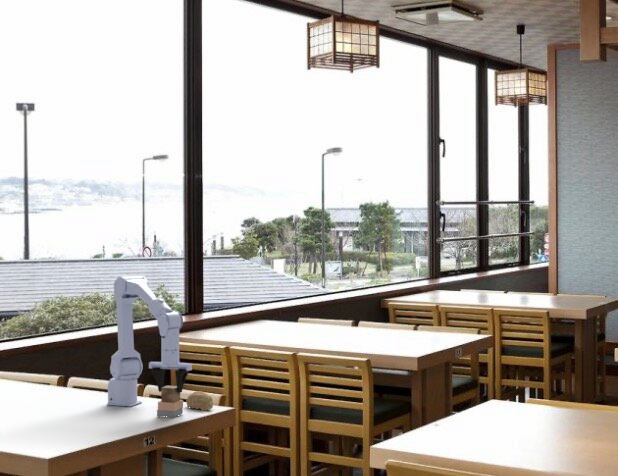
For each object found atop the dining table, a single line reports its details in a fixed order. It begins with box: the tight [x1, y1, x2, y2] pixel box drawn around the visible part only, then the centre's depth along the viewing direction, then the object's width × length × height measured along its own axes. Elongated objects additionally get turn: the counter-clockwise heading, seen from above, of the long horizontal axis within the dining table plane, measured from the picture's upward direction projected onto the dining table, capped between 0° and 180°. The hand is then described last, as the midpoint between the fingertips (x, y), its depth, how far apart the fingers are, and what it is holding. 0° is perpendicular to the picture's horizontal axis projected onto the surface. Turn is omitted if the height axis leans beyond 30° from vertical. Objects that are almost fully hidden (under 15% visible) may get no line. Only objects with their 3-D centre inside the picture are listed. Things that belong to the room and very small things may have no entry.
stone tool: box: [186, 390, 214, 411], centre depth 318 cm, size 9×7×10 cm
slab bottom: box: [156, 407, 184, 418], centre depth 306 cm, size 6×6×2 cm
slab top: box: [157, 399, 184, 411], centre depth 306 cm, size 6×6×2 cm
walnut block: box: [160, 385, 181, 403], centre depth 306 cm, size 4×4×4 cm
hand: (170, 391), depth 306 cm, fingers open, 6 cm apart
